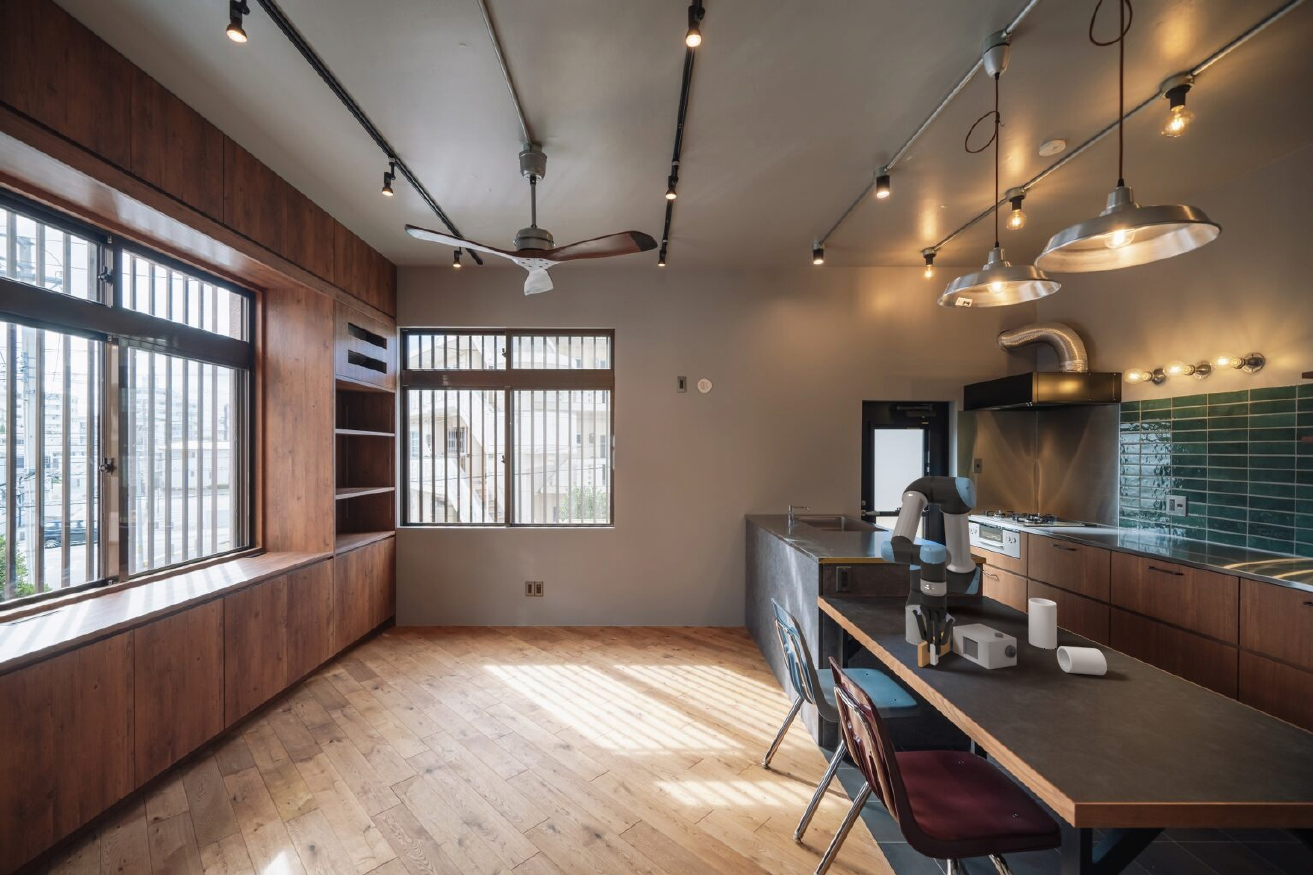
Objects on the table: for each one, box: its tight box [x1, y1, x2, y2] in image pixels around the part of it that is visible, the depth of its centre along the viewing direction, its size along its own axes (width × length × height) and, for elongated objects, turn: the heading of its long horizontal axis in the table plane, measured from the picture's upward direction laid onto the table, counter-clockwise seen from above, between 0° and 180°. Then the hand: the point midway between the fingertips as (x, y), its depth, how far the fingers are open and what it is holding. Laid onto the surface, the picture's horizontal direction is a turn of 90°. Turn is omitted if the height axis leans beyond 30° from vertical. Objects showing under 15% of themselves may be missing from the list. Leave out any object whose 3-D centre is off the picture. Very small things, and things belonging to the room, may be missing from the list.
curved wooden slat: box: [917, 631, 952, 668], centre depth 172 cm, size 22×2×7 cm, turn 126°
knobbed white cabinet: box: [952, 622, 1017, 670], centre depth 172 cm, size 15×12×10 cm
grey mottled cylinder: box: [905, 605, 935, 647], centre depth 187 cm, size 10×10×12 cm
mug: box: [1056, 645, 1108, 676], centre depth 164 cm, size 12×10×8 cm
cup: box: [1028, 597, 1058, 650], centre depth 183 cm, size 8×8×16 cm
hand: (934, 663), depth 165 cm, fingers closed
